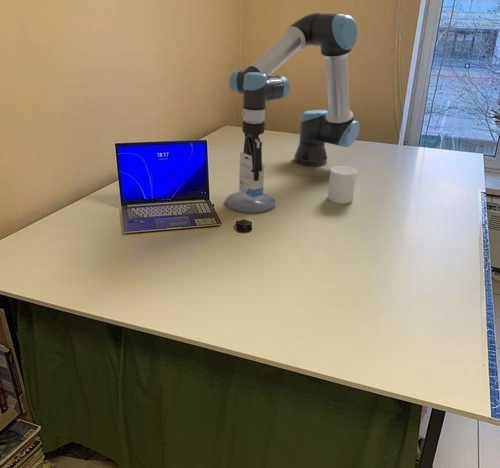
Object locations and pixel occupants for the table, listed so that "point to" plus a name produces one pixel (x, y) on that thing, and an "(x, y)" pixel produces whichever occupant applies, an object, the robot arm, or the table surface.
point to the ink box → (249, 177)
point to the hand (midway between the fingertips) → (251, 183)
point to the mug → (341, 184)
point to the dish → (250, 203)
